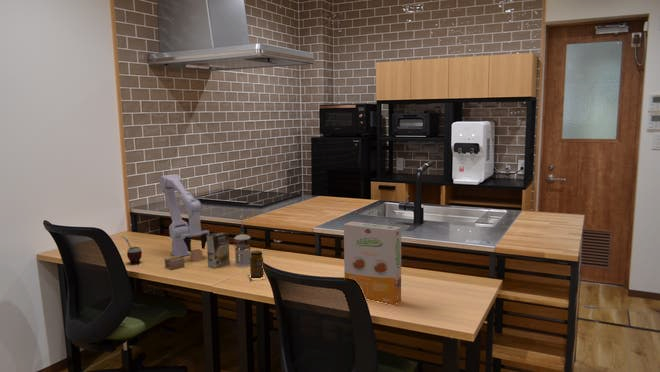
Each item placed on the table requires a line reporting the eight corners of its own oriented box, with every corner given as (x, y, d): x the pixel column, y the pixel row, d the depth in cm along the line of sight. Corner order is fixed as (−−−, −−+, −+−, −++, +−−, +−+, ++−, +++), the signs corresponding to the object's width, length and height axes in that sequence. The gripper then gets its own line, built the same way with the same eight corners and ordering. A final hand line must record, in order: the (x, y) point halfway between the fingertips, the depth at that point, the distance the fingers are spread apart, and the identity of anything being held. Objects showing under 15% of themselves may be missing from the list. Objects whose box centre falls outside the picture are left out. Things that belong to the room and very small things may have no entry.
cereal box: (401, 301, 204) (401, 227, 200) (394, 306, 199) (393, 230, 195) (352, 291, 217) (351, 221, 212) (344, 295, 211) (343, 224, 207)
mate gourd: (145, 262, 266) (143, 233, 264) (133, 266, 259) (131, 237, 256) (134, 260, 269) (132, 232, 267) (122, 264, 262) (120, 236, 260)
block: (191, 259, 269) (190, 250, 268) (199, 258, 271) (198, 248, 271) (194, 261, 265) (194, 252, 264) (202, 259, 268) (202, 250, 267)
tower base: (165, 268, 256) (164, 263, 256) (178, 265, 261) (178, 260, 260) (170, 271, 251) (170, 266, 250) (184, 268, 255) (184, 263, 255)
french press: (239, 268, 252) (237, 218, 248) (228, 263, 261) (225, 215, 257) (257, 264, 258) (255, 215, 254) (245, 259, 267) (243, 212, 263)
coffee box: (215, 268, 252) (214, 236, 250) (207, 266, 256) (205, 234, 254) (230, 264, 259) (228, 233, 257) (222, 262, 263) (220, 231, 261)
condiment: (263, 274, 242) (262, 249, 240) (266, 279, 234) (265, 254, 232) (248, 275, 240) (247, 250, 239) (250, 281, 232) (249, 255, 230)
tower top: (164, 263, 255) (164, 258, 255) (177, 260, 260) (177, 255, 260) (172, 266, 251) (171, 261, 250) (184, 263, 256) (184, 258, 255)
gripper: (184, 227, 258) (186, 253, 260) (211, 223, 267) (212, 248, 269) (179, 225, 263) (180, 251, 265) (205, 221, 272) (206, 246, 274)
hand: (196, 249), depth 267 cm, fingers open, 7 cm apart
